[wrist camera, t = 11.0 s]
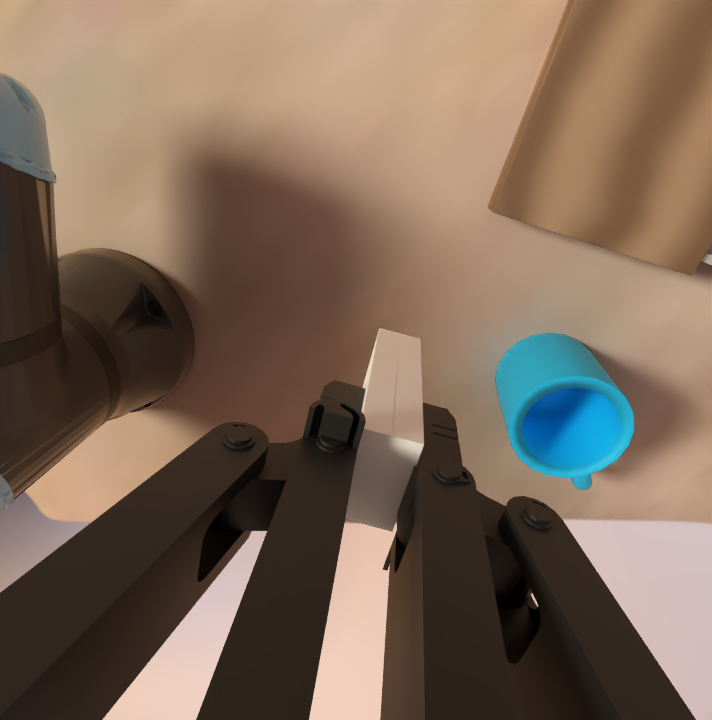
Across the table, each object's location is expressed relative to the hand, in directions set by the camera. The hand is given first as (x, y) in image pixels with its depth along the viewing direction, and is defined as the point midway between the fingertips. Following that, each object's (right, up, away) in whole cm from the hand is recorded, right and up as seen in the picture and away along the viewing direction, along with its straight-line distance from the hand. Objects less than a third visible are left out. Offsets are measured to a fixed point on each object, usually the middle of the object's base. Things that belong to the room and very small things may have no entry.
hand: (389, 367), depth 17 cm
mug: (+16, -3, +24) cm, 29 cm away
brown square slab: (+17, +16, +15) cm, 28 cm away
